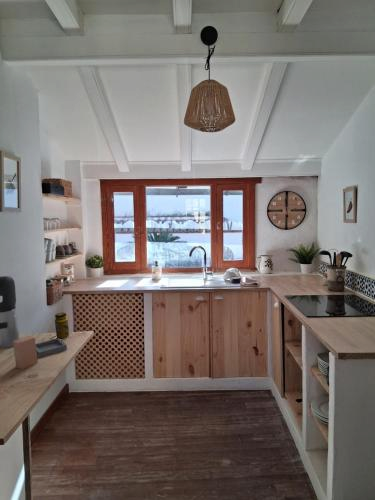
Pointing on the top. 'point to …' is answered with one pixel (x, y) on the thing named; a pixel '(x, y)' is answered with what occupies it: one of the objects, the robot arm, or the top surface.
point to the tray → (50, 347)
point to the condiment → (61, 326)
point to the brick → (25, 352)
